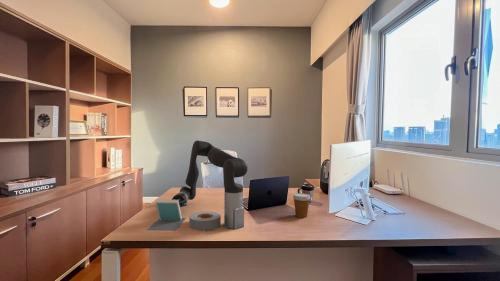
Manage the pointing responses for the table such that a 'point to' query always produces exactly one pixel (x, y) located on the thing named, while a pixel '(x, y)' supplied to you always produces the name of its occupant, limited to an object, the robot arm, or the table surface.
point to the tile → (168, 209)
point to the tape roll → (205, 221)
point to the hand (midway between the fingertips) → (170, 207)
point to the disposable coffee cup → (301, 204)
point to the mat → (166, 224)
